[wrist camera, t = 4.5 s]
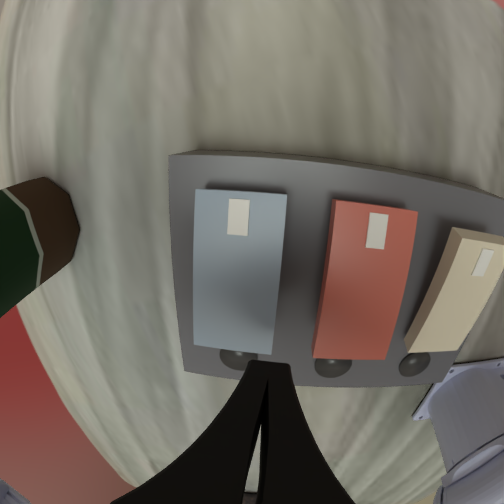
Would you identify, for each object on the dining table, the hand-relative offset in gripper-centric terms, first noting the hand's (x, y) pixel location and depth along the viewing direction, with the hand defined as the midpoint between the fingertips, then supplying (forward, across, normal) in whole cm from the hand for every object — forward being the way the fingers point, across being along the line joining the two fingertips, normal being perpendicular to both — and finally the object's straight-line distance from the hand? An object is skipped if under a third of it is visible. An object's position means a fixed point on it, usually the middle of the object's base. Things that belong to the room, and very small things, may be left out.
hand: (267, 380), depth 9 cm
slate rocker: (+5, +2, -2) cm, 6 cm away
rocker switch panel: (+9, -4, 0) cm, 10 cm away
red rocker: (+5, -4, -2) cm, 7 cm away
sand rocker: (+5, -9, -2) cm, 11 cm away
